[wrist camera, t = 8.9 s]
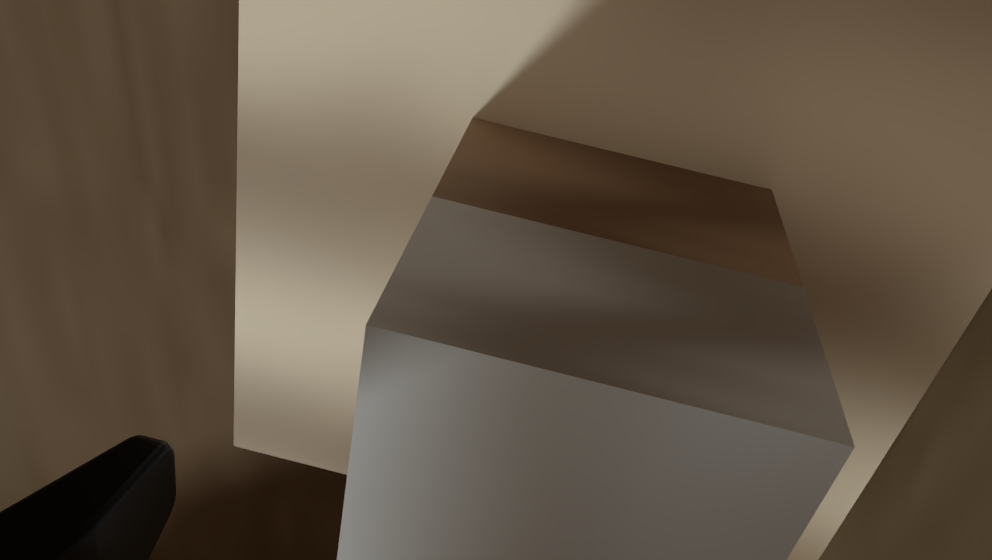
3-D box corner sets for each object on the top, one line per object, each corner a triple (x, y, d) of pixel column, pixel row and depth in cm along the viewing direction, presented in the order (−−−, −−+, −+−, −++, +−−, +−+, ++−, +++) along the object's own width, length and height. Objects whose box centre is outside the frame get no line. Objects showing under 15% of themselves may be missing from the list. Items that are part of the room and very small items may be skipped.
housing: (771, 189, 13) (854, 447, 8) (676, 414, 16) (693, 714, 11) (472, 117, 13) (365, 324, 8) (429, 352, 16) (329, 618, 11)
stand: (782, 504, 20) (798, 590, 18) (276, 377, 20) (233, 445, 18) (1090, -40, 13) (1180, -7, 11) (306, -221, 13) (241, -222, 11)
